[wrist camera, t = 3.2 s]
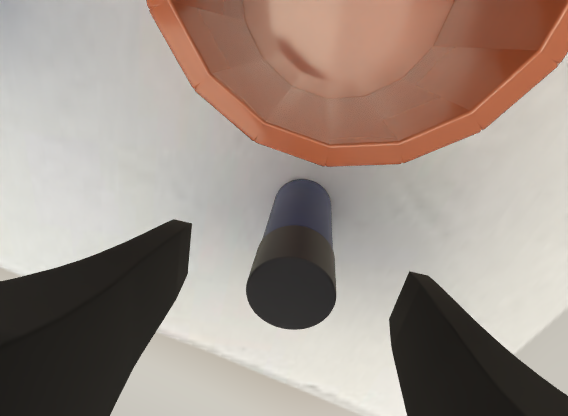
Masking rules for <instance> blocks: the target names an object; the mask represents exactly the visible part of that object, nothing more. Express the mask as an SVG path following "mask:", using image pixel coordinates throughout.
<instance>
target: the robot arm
mask: <svg viewBox="0 0 568 416" xmlns="http://www.w3.org/2000/svg"><path fill="white" fill-rule="evenodd" d="M191 228H192V223H187V222H183V221H178V220H171V221H169V222H167V223H164V224H162V225H160V226H158V227H156V228H154V229H152V230H150V231H148V232H146V233H144V234H142V235H140V236H137V237H135V238H133V239H131V240H129V241H127V242H125V243H122V244H120V245H117V246H115V247H113V248H110V249H108V250H105V251H103V252H101V253H98V254H96V255H93V256H90V257H88V258H85V259H82V260H79V261H76V262H73V263H70V264H67V265H64V266H61V267H57V268H54V269H50V270H46V271H42V272H38V273H34V274H30V275H26V276H22V277H19V278H15V279H10V280H5V281H0V416H110V414H111V412H112V410H113V408H114V406H115V404H116V402H117V400H118V398H119V395H120V394H121V392H122V390H123V388H124V386H125V384H126V382H127V380H128V378H129V376H130V373H131V372H132V370H133V368H134V366H135V364H136V363H137V361H138V359H139V358H140V356H141V354H142V353H143V351H144V350H145V348H146V346H147V345H148V343H149V342H150V340H151V338H152V337H153V335H154V334H155V332H156V331H157V329H158V327H159V326H160V324H161V323H162V321H163V320H164V318H165V316H166V315H167V313H168V312H169V310H170V308H171V307H172V305H173V304H174V302H175V300H176V298H177V296H178V294H179V292H180V290H181V288H182V285H183V283H184V281H185V279H186V276H187V274H188V263H189V251H190V240H191ZM389 324H390V337H391V346H392V352H393V356H394V361H395V365H396V370H397V374H398V378H399V382H400V387H401V391H402V395H403V399H404V404H405V408H406V412H407V416H568V396H567V395H566V394H564V393H563V392H561V391H560V390H558V389H557V388H556V387H554V386H553V385H551V384H550V383H549V382H547V381H546V380H545V379H543V378H542V377H541V376H539V375H538V374H537V373H536V372H534V371H533V370H532V369H530V368H529V367H528V366H527V365H525V364H524V363H523V362H521V361H520V360H519V359H518V358H516V357H515V356H514V355H513V354H512V353H510V352H509V351H508V350H507V349H506V348H505V347H503V346H502V345H501V344H500V343H499V342H498V341H497V340H496V339H494V338H493V337H492V336H491V335H490V334H489V333H488V332H487V331H486V330H485V329H483V328H482V327H481V326H480V325H479V324H478V323H477V322H476V321H475V320H474V319H473V318H472V317H471V316H470V315H469V314H468V313H467V312H466V311H465V310H464V309H463V308H462V307H461V306H460V305H459V304H458V303H457V302H456V301H455V300H454V299H453V298H452V297H451V296H450V295H448V294H447V293H446V292H445V291H444V290H443V289H442V288H441V287H440V286H439V285H438V284H437V283H436V282H435V281H434V280H433V279H432V278H430V277H429V276H428V275H423V274H418V273H414V272H409V274H408V276H407V278H406V281H405V283H404V285H403V288H402V290H401V292H400V295H399V297H398V299H397V302H396V304H395V307H394V309H393V311H392V314H391V316H390V318H389Z"/></svg>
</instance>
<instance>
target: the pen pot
mask: <svg viewBox="0 0 568 416" xmlns="http://www.w3.org/2000/svg"><path fill="white" fill-rule="evenodd" d="M146 1H147V6H148V8H149V9H150V10H149V11H150V14H151V15H152V17H153V19H154V21H155V22H156V24H157V26H158V28H159V29H160V31H161V33H162V35H163V36H164V38H165V40H166V42H167V44H168V45H169V47H170V49H171V51H172V52H173V54H174V56H175V58H176V59H177V61H178V63H179V65H180V66H181V68H182V70H183V72H184V74H185V75H186V77H187V79H188V81H189V82H190V84H191V86H192V87H193V88H195V91H196V92H197V93H198V94H199V95H200V96H201V97H202V98H204V99H205V100H206V101H207V102H208V103H209V104H211V105H212V106H213V107H214V108H215V109H216V110H218V111H219V112H220V113H221V114H222V115H223V116H225V117H226V118H227V119H228V120H229V121H230V122H232V123H233V124H234V125H235V126H236V127H237V128H239V129H240V130H241V131H242V132H243V133H244V134H245V135H247V136H248V137H249V138H250V139H251V140H253V141H255V142H256V143H258V144H261V145H264V146H267V147H270V148H272V149H275V150H278V151H281V152H284V153H287V154H289V155H292V156H295V157H298V158H301V159H304V160H307V161H309V162H312V163H315V164H318V165H321V166H325V165H326V166H327V167H334V166H361V165H388V164H401V163H406V162H408V161H411V160H413V159H415V158H418V157H420V156H423V155H425V154H428V153H430V152H432V151H435V150H437V149H440V148H442V147H445V146H447V145H450V144H452V143H454V142H457V141H459V140H462V139H464V138H467V137H469V136H471V135H474V134H476V133H479V132H480V131H481V130H483V129H485V128H486V127H488V126H489V125H490V124H491V123H492V122H493V121H495V120H496V119H497V118H498V117H499V116H500V115H502V114H503V113H504V112H505V111H506V110H507V109H509V108H510V107H511V106H512V105H513V104H514V103H516V102H517V101H518V100H519V99H520V98H521V97H523V96H524V95H525V94H526V93H527V92H528V91H530V90H531V89H532V88H533V87H534V86H535V85H537V84H538V83H539V82H540V81H541V80H542V79H544V78H545V77H546V76H547V75H548V74H549V73H551V72H552V71H553V70H554V69H555V68H556V67H557V66H558V65H557V64H559V63H561V62H562V60H563V58H564V57H565V55H566V54H567V52H568V0H146Z"/></svg>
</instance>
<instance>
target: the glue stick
mask: <svg viewBox="0 0 568 416" xmlns="http://www.w3.org/2000/svg"><path fill="white" fill-rule="evenodd" d="M246 295H247V299H248V302H249V304H250V306H251V308H252V309H253V311H254V312H255V313H256V314H257V315H258V316H259V317H260V318H261V319H263V320H264V321H266V322H267V323H269V324H271V325H274V326H276V327H280V328H284V329H292V330H295V329H305V328H309V327H312V326H314V325H316V324H318V323H320V322H322V321H323V320H324V319H325V318H326V317H327V316H328V315H329V314H330V313H331V311H332V309H333V307H334V305H335V301H336V278H335V258H334V252H333V243H332V219H331V201H330V198H329V195H328V194H327V192H326V191H325V189H324V188H323V187H322V186H320V185H319V184H317V183H315V182H313V181H310V180H294V181H291V182H289V183H287V184H285V185H284V186H283V187H282V188H281V189H280V190H279V191H278V193H277V195H276V198H275V201H274V204H273V207H272V210H271V213H270V217H269V220H268V223H267V226H266V229H265V232H264V236H263V239H262V241H261V243H260V245H259V247H258V250H257V253H256V256H255V259H254V262H253V265H252V268H251V271H250V275H249V278H248V281H247V285H246Z"/></svg>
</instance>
